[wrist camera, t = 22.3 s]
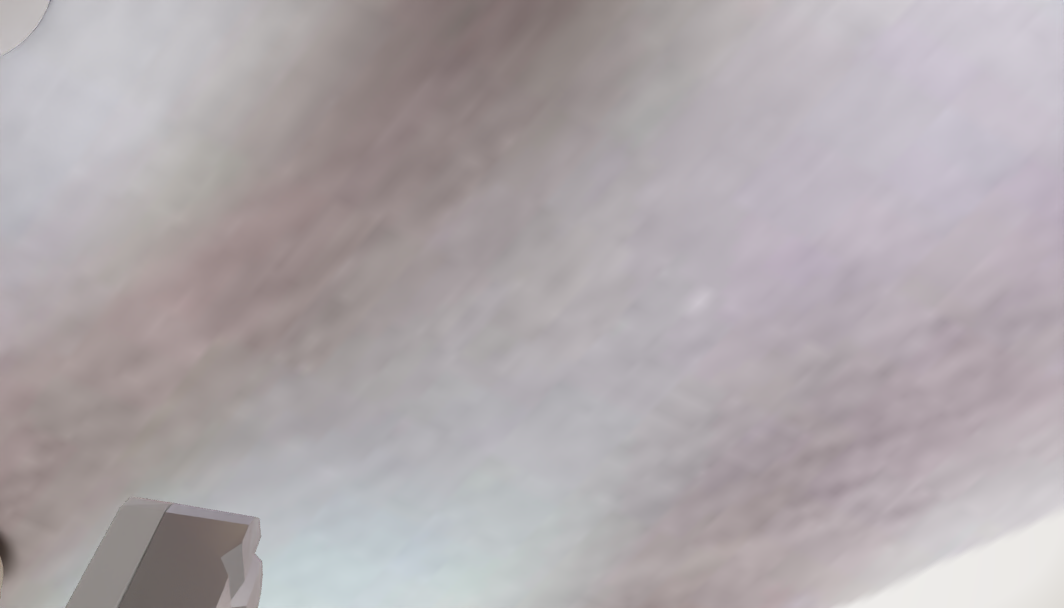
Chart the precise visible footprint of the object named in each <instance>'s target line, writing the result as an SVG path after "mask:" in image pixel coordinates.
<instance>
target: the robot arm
mask: <svg viewBox="0 0 1064 608" xmlns="http://www.w3.org/2000/svg"><path fill="white" fill-rule="evenodd" d="M49 2H50V0H0V57H1V56H3V55H4V54H6V53H8V52H10V51H11V50H13V49H14V48H16V47H17V46H18V45H19V44H21V43H22V42H23V41H24V40H25V39H26V38H27V37H28V36H29V35H30V34H31V33H32V32H33V30H34V29H35V28H36V27H37V25H38V24H39V22H40V21H41V19H42V17H43V16H44V14H45V12H46V10H47V7H48V5H49ZM260 538H261V531H260V520H259V518H257V517H253V516H247V515H241V514H235V513H229V512H224V511H218V510H212V509H206V508H200V507H194V506H188V505H183V504H177V503H170V502H163V501H157V500H151V499H144V498H138V497H130V498H129V499H128V500H127V501H126V502H125V503H124V504H123V505H122V506H121V507H120V508H119V510H118V512H117V514H116V515H115V517H114V519H113V521H112V523H111V525H110V526H109V528H108V530H107V532H106V534H105V536H104V537H103V539H102V541H101V543H100V545H99V547H98V548H97V550H96V552H95V554H94V556H93V558H92V559H91V561H90V563H89V565H88V567H87V569H86V570H85V572H84V574H83V576H82V578H81V580H80V581H79V583H78V585H77V587H76V589H75V591H74V592H73V594H72V596H71V598H70V600H69V602H68V603H67V605H66V607H65V608H258V604H259V599H260V595H261V587H262V576H263V571H262V561H261V560H260V559H259V557H258V556H257V555H256V554H255V552H256V549H257V546H258V544H259V541H260Z"/></svg>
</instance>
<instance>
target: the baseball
mask: <svg viewBox="0 0 1064 608" xmlns="http://www.w3.org/2000/svg"><path fill="white" fill-rule="evenodd" d="M2 581H3V564H2V560H1V557H0V590H1V587H2ZM0 599H1V591H0Z"/></svg>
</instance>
